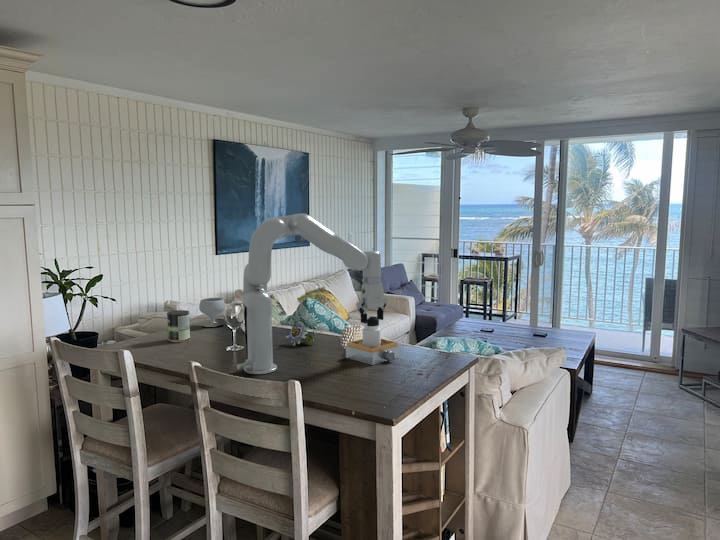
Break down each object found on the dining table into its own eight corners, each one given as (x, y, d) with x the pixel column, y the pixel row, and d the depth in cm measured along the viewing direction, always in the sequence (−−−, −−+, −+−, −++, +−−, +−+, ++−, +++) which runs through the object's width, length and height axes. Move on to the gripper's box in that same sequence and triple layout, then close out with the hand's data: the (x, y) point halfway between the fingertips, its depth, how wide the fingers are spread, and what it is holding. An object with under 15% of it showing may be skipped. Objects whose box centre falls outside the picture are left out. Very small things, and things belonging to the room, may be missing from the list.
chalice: (208, 329, 273) (207, 302, 271) (195, 326, 282) (194, 299, 280) (231, 325, 283) (230, 299, 281) (217, 322, 292) (216, 296, 291)
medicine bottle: (380, 343, 217) (380, 315, 216) (379, 347, 210) (379, 319, 209) (364, 343, 218) (363, 315, 217) (362, 347, 211) (362, 318, 210)
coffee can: (167, 343, 243) (166, 314, 242) (168, 339, 253) (167, 311, 251) (190, 342, 246) (188, 313, 245) (190, 337, 256) (189, 309, 254)
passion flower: (295, 357, 237) (280, 336, 237) (306, 347, 246) (292, 327, 247) (310, 346, 231) (295, 325, 232) (322, 336, 241) (307, 316, 241)
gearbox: (378, 366, 202) (377, 350, 201) (345, 357, 215) (345, 342, 215) (404, 358, 213) (404, 343, 212) (372, 350, 226) (372, 336, 226)
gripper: (363, 283, 203) (363, 325, 205) (392, 279, 215) (392, 319, 217) (350, 281, 208) (351, 322, 210) (379, 278, 220) (380, 317, 222)
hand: (372, 321), depth 213 cm, fingers open, 9 cm apart
